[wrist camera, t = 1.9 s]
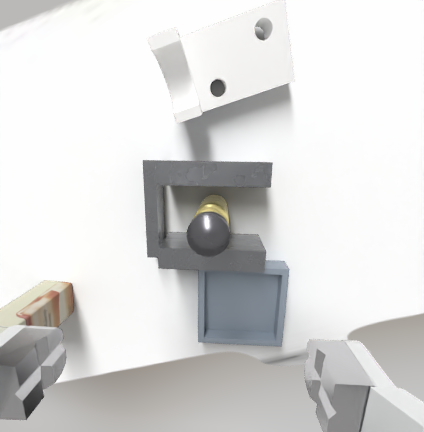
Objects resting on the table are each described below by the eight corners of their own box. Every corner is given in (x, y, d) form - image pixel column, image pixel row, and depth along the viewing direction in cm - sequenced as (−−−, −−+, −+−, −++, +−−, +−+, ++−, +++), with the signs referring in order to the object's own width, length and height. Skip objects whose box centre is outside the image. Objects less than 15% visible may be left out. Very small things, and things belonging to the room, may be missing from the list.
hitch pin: (228, 194, 30) (230, 215, 19) (227, 221, 31) (229, 257, 20) (200, 194, 31) (186, 214, 19) (200, 220, 31) (186, 255, 20)
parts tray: (284, 261, 32) (289, 269, 30) (277, 333, 35) (281, 346, 32) (200, 258, 33) (198, 266, 30) (199, 329, 35) (198, 342, 33)
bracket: (183, 116, 30) (176, 123, 23) (161, 52, 26) (146, 37, 20) (285, 82, 28) (309, 78, 22) (274, 9, 25) (300, -22, 18)
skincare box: (75, 311, 36) (18, 368, 26) (47, 308, 36) (-20, 364, 26) (73, 281, 35) (13, 328, 25) (44, 278, 35) (-27, 324, 25)
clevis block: (262, 162, 29) (272, 162, 24) (257, 252, 32) (264, 272, 26) (150, 160, 30) (132, 160, 24) (154, 248, 33) (139, 267, 27)
